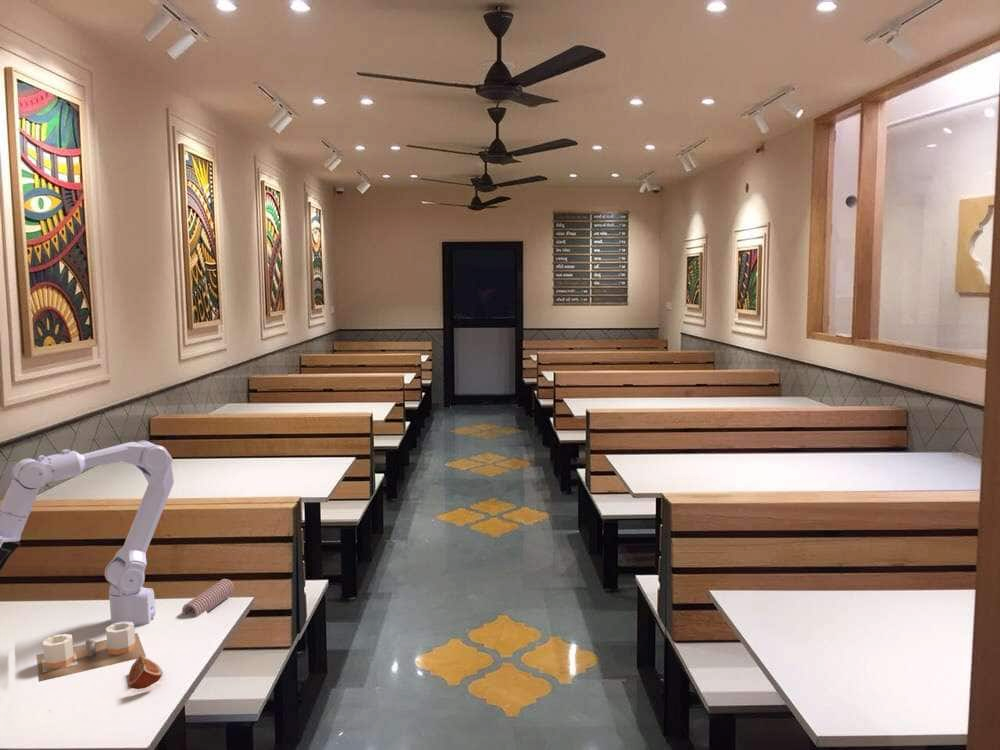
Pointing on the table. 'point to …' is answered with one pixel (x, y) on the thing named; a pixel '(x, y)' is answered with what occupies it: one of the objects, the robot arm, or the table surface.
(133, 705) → the table surface
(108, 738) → the table surface
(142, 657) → the fruit slice
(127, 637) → the seated sleeve
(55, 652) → the sleeve
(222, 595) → the coil
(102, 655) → the pin board
